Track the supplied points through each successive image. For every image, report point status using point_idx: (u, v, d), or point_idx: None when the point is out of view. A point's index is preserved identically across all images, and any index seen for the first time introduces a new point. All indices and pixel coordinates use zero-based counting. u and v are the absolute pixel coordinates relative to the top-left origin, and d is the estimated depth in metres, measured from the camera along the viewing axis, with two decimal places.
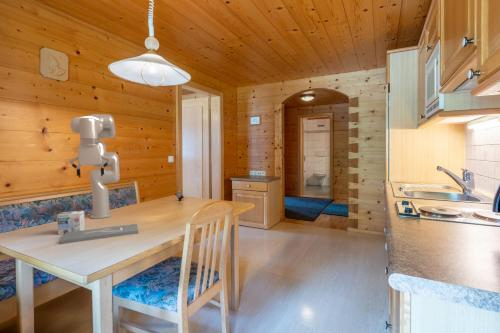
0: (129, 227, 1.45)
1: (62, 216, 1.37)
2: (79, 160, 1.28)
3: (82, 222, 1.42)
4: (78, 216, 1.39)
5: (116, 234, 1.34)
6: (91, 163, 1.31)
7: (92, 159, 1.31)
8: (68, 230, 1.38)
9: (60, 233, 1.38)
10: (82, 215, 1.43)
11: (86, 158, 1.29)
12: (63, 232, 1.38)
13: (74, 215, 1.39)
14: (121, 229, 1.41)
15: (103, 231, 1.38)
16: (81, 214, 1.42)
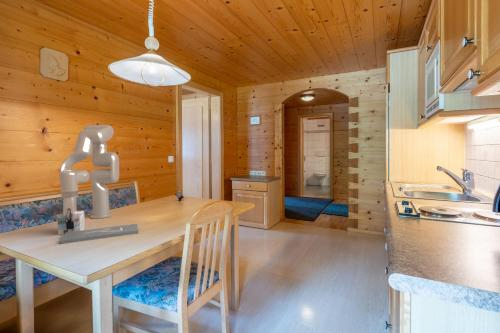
0: (129, 227, 1.45)
1: (62, 216, 1.37)
2: (73, 211, 1.38)
3: (82, 222, 1.42)
4: (78, 216, 1.39)
5: (116, 234, 1.34)
6: None
7: (75, 209, 1.43)
8: (68, 230, 1.38)
9: (60, 233, 1.38)
10: (82, 215, 1.43)
11: (75, 208, 1.41)
12: (63, 232, 1.38)
13: (74, 215, 1.39)
14: (121, 229, 1.41)
15: (103, 231, 1.38)
16: (81, 214, 1.42)
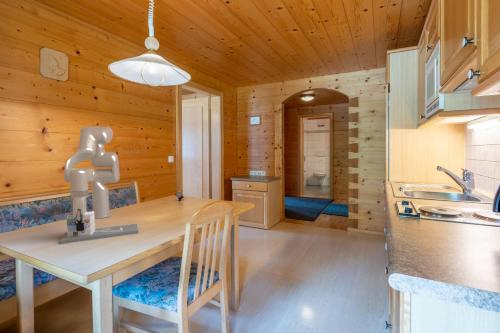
0: (129, 227, 1.45)
1: (72, 217, 1.29)
2: (84, 212, 1.30)
3: (92, 223, 1.34)
4: (88, 217, 1.31)
5: (116, 234, 1.34)
6: None
7: (85, 210, 1.35)
8: (78, 232, 1.30)
9: (69, 235, 1.29)
10: (92, 216, 1.35)
11: (85, 209, 1.32)
12: (73, 234, 1.30)
13: (84, 216, 1.31)
14: (121, 229, 1.41)
15: (103, 231, 1.38)
16: (91, 215, 1.33)
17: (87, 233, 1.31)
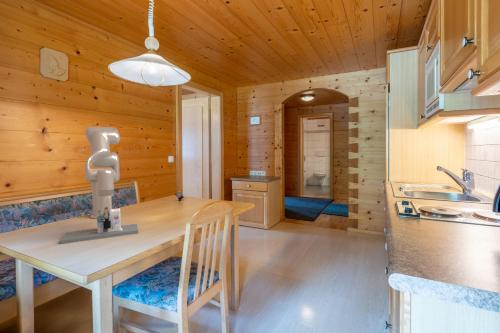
0: (129, 227, 1.45)
1: None
2: (110, 210, 1.35)
3: (120, 220, 1.40)
4: (118, 213, 1.37)
5: (116, 234, 1.34)
6: None
7: None
8: None
9: (100, 231, 1.34)
10: None
11: (111, 207, 1.38)
12: (103, 230, 1.35)
13: (114, 213, 1.37)
14: (121, 229, 1.41)
15: None
16: None
17: (116, 229, 1.37)
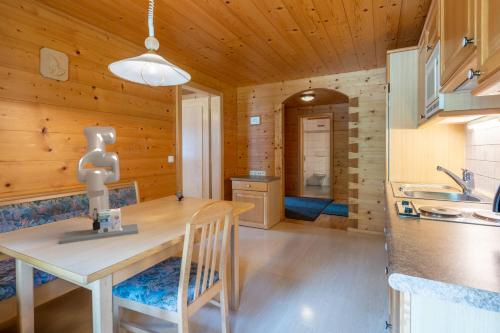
0: (129, 227, 1.45)
1: (102, 214, 1.34)
2: (100, 211, 1.33)
3: (120, 220, 1.41)
4: (118, 213, 1.37)
5: (116, 234, 1.34)
6: None
7: (101, 209, 1.38)
8: (108, 228, 1.36)
9: (100, 231, 1.34)
10: (120, 213, 1.41)
11: (101, 208, 1.35)
12: (103, 230, 1.35)
13: (114, 213, 1.37)
14: (121, 229, 1.41)
15: None
16: None
17: (117, 229, 1.37)
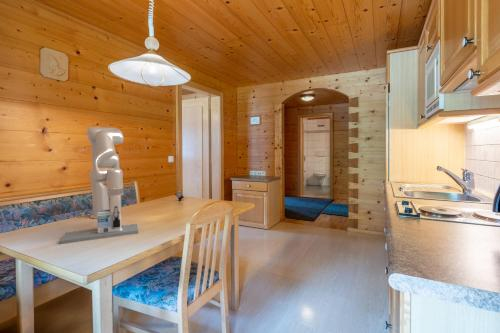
0: (129, 227, 1.45)
1: (102, 214, 1.34)
2: (120, 209, 1.37)
3: (120, 220, 1.41)
4: None
5: (116, 234, 1.34)
6: None
7: None
8: (108, 228, 1.36)
9: (100, 231, 1.34)
10: (120, 213, 1.41)
11: None
12: (103, 230, 1.35)
13: (114, 213, 1.37)
14: (121, 229, 1.41)
15: None
16: None
17: (117, 229, 1.37)
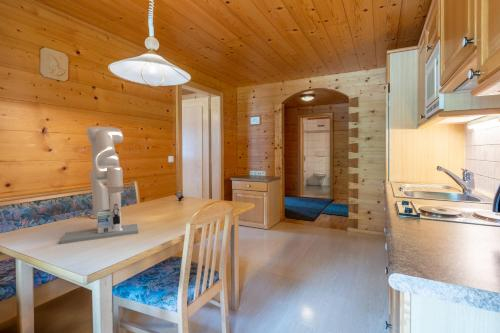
0: (129, 227, 1.45)
1: (102, 214, 1.35)
2: (120, 207, 1.37)
3: (120, 219, 1.41)
4: None
5: (116, 234, 1.34)
6: None
7: None
8: (108, 228, 1.36)
9: (100, 231, 1.35)
10: (120, 212, 1.41)
11: None
12: (103, 230, 1.35)
13: None
14: (121, 229, 1.41)
15: None
16: (120, 211, 1.40)
17: (117, 229, 1.38)
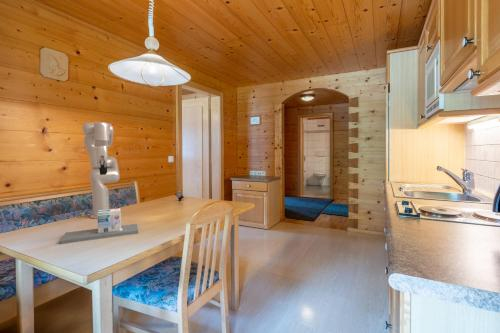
0: (129, 227, 1.45)
1: (102, 214, 1.35)
2: (106, 159, 1.48)
3: (120, 219, 1.41)
4: (118, 213, 1.38)
5: (116, 234, 1.34)
6: (107, 162, 1.52)
7: (107, 158, 1.52)
8: (108, 228, 1.36)
9: (100, 231, 1.35)
10: (120, 212, 1.41)
11: (107, 157, 1.50)
12: (103, 230, 1.35)
13: (114, 212, 1.37)
14: (121, 229, 1.41)
15: None
16: (120, 211, 1.40)
17: (117, 229, 1.38)
